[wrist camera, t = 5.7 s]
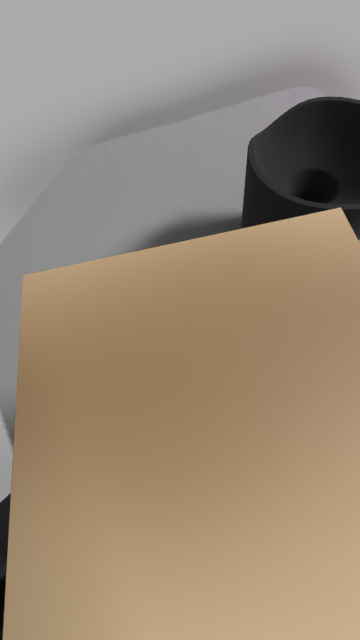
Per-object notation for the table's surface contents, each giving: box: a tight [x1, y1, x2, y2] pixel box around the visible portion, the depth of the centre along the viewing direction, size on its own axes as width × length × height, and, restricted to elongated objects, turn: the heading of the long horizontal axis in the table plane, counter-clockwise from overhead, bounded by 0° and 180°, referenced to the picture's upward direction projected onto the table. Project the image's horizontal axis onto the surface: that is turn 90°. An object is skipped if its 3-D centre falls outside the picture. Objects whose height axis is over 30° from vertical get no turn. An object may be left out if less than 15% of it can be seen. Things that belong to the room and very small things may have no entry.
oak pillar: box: [3, 207, 360, 640], centre depth 9 cm, size 4×4×12 cm
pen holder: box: [241, 97, 360, 240], centre depth 21 cm, size 9×9×10 cm
